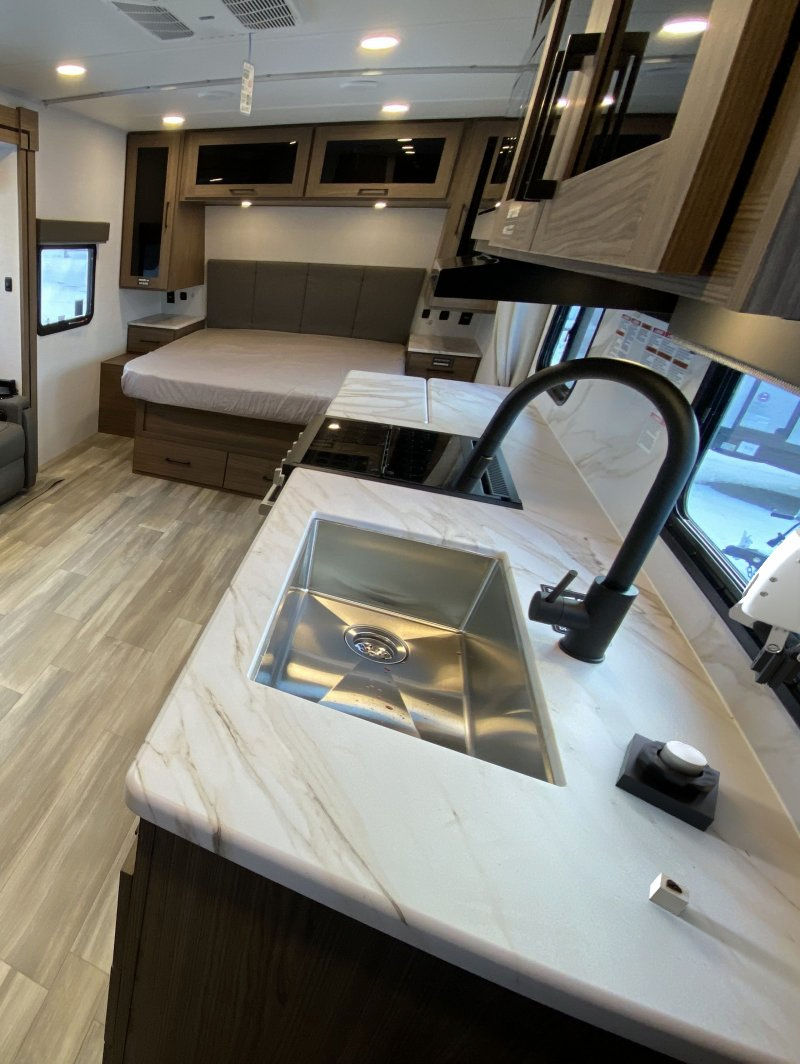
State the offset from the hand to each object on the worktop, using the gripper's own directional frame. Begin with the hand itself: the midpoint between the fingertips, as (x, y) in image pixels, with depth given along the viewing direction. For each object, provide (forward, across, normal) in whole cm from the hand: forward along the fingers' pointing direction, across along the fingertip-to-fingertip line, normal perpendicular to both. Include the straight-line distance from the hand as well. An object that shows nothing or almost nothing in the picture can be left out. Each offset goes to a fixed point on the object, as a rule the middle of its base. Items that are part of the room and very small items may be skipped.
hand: (765, 680), depth 64 cm
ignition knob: (+13, +2, +4) cm, 13 cm away
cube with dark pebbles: (+16, +1, +23) cm, 28 cm away
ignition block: (+16, +2, +4) cm, 17 cm away
